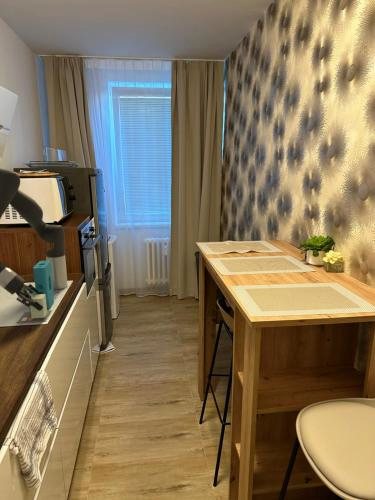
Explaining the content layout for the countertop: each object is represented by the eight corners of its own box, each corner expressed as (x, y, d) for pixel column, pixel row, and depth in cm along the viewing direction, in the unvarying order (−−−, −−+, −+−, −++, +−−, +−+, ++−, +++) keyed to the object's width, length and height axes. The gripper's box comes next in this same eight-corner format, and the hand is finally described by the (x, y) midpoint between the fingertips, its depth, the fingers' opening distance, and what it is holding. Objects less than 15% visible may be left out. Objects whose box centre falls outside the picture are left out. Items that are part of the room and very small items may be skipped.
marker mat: (24, 312, 155) (24, 311, 155) (52, 310, 156) (51, 310, 156) (16, 323, 144) (16, 322, 144) (45, 321, 146) (45, 321, 146)
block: (48, 310, 156) (44, 267, 151) (37, 311, 155) (32, 268, 151) (55, 300, 168) (51, 260, 163) (44, 301, 167) (39, 260, 162)
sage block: (35, 313, 150) (33, 294, 148) (47, 312, 150) (45, 294, 148) (31, 318, 145) (29, 299, 143) (44, 317, 146) (42, 298, 143)
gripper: (9, 279, 135) (45, 307, 140) (21, 269, 149) (53, 294, 154) (-4, 293, 136) (32, 320, 140) (9, 281, 150) (42, 306, 154)
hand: (43, 306), depth 147 cm, fingers closed on sage block, 5 cm apart
